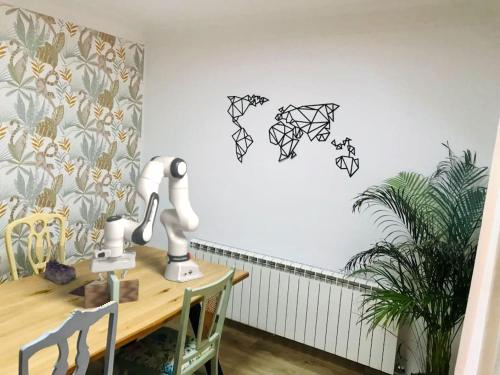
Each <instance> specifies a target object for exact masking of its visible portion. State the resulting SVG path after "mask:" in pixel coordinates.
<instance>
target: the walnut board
mask: <svg viewBox="0 0 500 375" xmlns="http://www.w3.org/2000/svg"><path fill="white" fill-rule="evenodd" d="M139 283H140V281H139V279H138V278H137V279H129V280H128V279H127V280H122V281H120V280H119V305H120V304H126V303H131V302H137V301H139V293H140V292H139V289H140V284H139ZM108 290H109V285H108V283H107V282H106V283H104V284H96V285H89V286H85V292H84V297H83V298H84V299H83V301H84V302H83V303H84V304H83V305H84V306H83V307H84V310H85V309H86V310H88V309H94V308H100V307H99V306H101V307H103V306H102V305H104V304H106V303H108V302H110V298H111V296H110V294H109V293H108Z"/></svg>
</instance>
